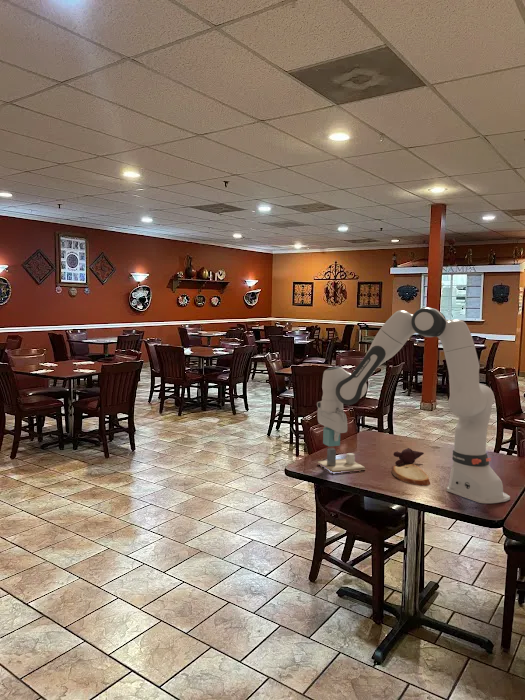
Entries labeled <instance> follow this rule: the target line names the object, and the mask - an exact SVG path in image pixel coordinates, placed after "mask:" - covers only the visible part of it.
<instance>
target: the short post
mask: <svg viewBox="0 0 525 700" xmlns="http://www.w3.org/2000/svg"><path fill="white" fill-rule="evenodd" d="M355 456H356V454H355V453H353V452H348V453H346V455H345V459H346V463H347V464H355V462H356V461H355V459H356V457H355Z"/></svg>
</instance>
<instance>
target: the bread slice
mask: <svg viewBox="0 0 525 700" xmlns="http://www.w3.org/2000/svg"><path fill="white" fill-rule="evenodd" d="M391 474H392V475H393V476H394V477H395V478H396V477H397V478H396V479H398V478H399V480H400V481H403V482H405V483H408V484H411V485H417V486H430V485H431V482H430V481H431V480H430V478H429V475H427V473H426V472H425V471H424V470H423V469H422V468H420V467H419V466H418V465H416V464H414V463H413V464H405V465H402V466H401V465H400V466H398V465H393V466H392V468H391Z"/></svg>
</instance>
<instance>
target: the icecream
mask: <svg viewBox="0 0 525 700" xmlns="http://www.w3.org/2000/svg"><path fill="white" fill-rule="evenodd" d="M392 455H393V456H394V457H396V458H398V459H397V460H396V461H395V463H394V464H395V466H401V465H402V464H403V463H404V464H405V465H410V464H414V463H415V461H416V460H418V458H420V457H421V456H423V455H425V453H424V452H422V451H419V450H417V451H416V450H414V449H411V448H409V447H407V448H405V449H403V450H402V451H394V452H393V454H392Z"/></svg>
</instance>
